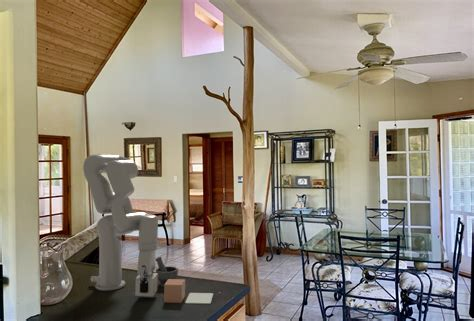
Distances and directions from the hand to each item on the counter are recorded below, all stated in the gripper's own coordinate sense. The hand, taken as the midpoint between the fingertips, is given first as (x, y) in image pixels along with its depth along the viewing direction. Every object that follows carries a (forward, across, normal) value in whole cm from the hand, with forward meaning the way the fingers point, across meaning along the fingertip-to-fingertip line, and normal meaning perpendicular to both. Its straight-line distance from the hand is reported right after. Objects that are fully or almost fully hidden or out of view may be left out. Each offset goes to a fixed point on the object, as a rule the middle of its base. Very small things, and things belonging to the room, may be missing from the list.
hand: (146, 288), depth 150 cm
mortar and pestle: (+4, -18, +4) cm, 18 cm away
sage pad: (+3, 0, +22) cm, 22 cm away
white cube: (+2, 0, 0) cm, 2 cm away
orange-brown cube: (+4, 0, +12) cm, 12 cm away
